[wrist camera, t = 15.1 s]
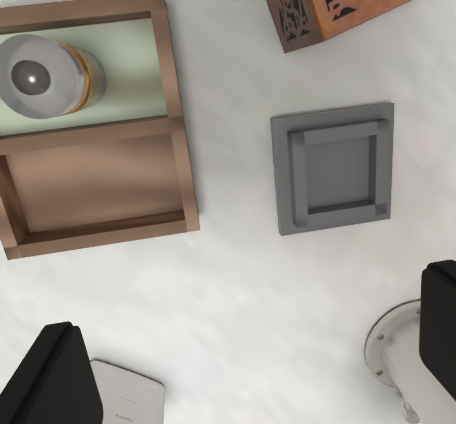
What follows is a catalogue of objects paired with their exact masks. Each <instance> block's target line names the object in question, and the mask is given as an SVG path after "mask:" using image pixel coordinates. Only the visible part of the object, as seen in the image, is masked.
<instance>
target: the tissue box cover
mask: <svg viewBox="0 0 456 424" xmlns="http://www.w3.org/2000/svg"><path fill="white" fill-rule="evenodd" d="M266 1H267V4H268V7H269V9H270V12H271V15H272V18H273V21H274V24H275V27H276V30H277V33H278V35H279V38H280V41H281V44H282V47H283V50H284V53H287V52H291V51H294V50H297V49H300V48H304V47H307V46H310V45H314V44H317V43H320V42H324V41H326V40H328V39H330V38H332V37H334V36H336V35H338V34H341V33H343V32H345V31H347V30H349V29H351V28H353V27H356V26H358V25H360V24H362V23H364V22H366V21H368V20H371V19H373V18H375V17H377V16H379V15H381V14H383V13H385V12H388V11H390V10H392V9H394V8H396V7H398V6H400V5H403V4H405V3H407V2H409V1H411V0H266Z"/></svg>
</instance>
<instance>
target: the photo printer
mask: <svg viewBox="0 0 456 424" xmlns="http://www.w3.org/2000/svg"><path fill="white" fill-rule="evenodd" d="M90 364H91V367H92V371H93V374H94V377H95V381H96V384H97V387H98V391H99V394H100V397H101V401H102V404H103V411H104V415H103V422H102V424H163V417H164V386H162V385H161V384H159V383H158V382H155V381H153V380H151V379H148V378H146V377H143V376H140V375H138V374H135V373H132V372H130V371H127V370H124V369H121V368H118V367H115V366H112V365H109V364H106V363H103V362H99V361H92V362H90Z"/></svg>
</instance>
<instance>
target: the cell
mask: <svg viewBox="0 0 456 424" xmlns="http://www.w3.org/2000/svg"><path fill="white" fill-rule="evenodd" d="M105 88H106V77H105V73H104V70H103V68H102V66H101V64H100V63H99V61H98V60H97V59H96V58H95V57H94V56H93V55H92V54H90V53H89V52H87V51H85V50H83V49H80V48H76V47H74V46H72V45H69V44H66V43H63V42H60V41H57V40H53V39H50V38H46V37H41V36H38V35H33V34H19V35H15V36H12V37H10V38H8V39H7V40H5V41H4V42H3V43H1V44H0V98H1V99H2V100H3V102H4V103H5V104H6V105H7V106H8V107H10V108H11V109H12V110H14V111H15V112H17V113H18V114H20V115H23V116H25V117H28V118H32V119H48V118H52V117H59V116H63V115H67V114H71V113H75V112H78V111H81V110H84V109H88V108H90V107H92V106H94V105H96V104H97V103H98V102H99V101H100V100H101V98H102V97H103V94H104V92H105Z"/></svg>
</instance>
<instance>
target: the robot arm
mask: <svg viewBox="0 0 456 424" xmlns="http://www.w3.org/2000/svg"><path fill="white" fill-rule="evenodd" d="M365 358H366V362H367V365H368V367H369V369H370V370H371V372H372V373H373V375H374V376H375V377H376V378H377V379H378V380H379V381H381V382H382V383H384V384H386V385H389V386H392V387H397V388H398V389H399V390H400V392H401V393H402V398H403V400H404V401H405V403H404V412H403V416H404V418H405V420H406V421H408V422H409V423H413V424H415V423H418V422H419V421H420V419H421V420H422V422H423V423H424V424H456V261H454V260H445V261H439V262H433V263H430V264H428V266H427V269H424V270H423V272H422V279H421V301H415V302H410V303H407V304H404V305H402V306H400V307H398V308H395V309H394V310H392V311H391V312H389V313H388V314H386V315H385V316H384V317H383V318H382V319H381V320H380V321H379V322H378V323H377V324H376V326H375V327H374V328H373V330H372V331H371V333H370V335H369V337H368V340H367V343H366V348H365ZM103 415H104V411H103V404H102V401H101V397H100V394H99V391H98V387H97V384H96V381H95V377H94V374H93V371H92V367H91V364H90V360H89V357H88V354H87V350H86V347H85V344H84V340H83V337H82V334H81V330H80V328H79V327H78V326H73V325H72V323H71V322H69V321H68V322H62V323H55V324H49V325H46V326H45V327H44V328H43V329H42V331H41V332H40V334H39V336H38V337H37V339H36V340H35V342H34V343H33V345H32V346H31V348H30V349H29V351H28V353H27V354H26V356H25V357H24V359H23V360H22V362H21V363H20V365H19V366H18V368H17V370H16V371H15V373H14V374H13V376H12V377H11V379H10V380H9V382H8V383H7V385H6V386H5V388H4V390H3V391H2V393H1V394H0V424H102V422H103Z"/></svg>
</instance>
